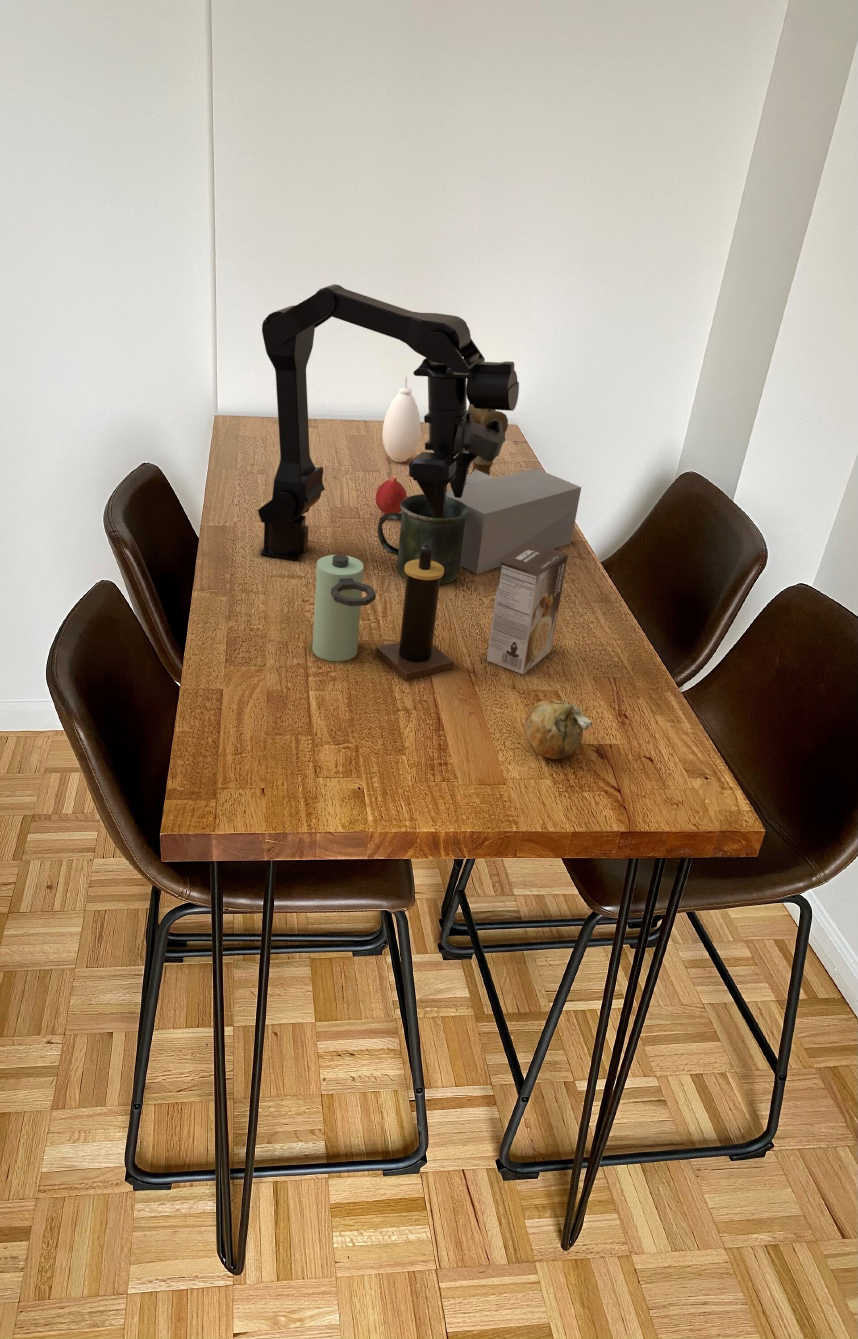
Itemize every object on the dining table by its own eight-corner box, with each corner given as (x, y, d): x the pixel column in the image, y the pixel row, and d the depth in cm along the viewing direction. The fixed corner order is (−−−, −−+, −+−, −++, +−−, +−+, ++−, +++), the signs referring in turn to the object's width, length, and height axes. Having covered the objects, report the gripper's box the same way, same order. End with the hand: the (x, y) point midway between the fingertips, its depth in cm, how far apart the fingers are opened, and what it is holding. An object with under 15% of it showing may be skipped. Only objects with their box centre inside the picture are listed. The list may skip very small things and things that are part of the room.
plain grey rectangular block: (480, 501, 207) (487, 447, 201) (571, 543, 193) (581, 487, 187) (385, 526, 191) (390, 469, 185) (476, 574, 177) (485, 513, 172)
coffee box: (514, 638, 159) (529, 540, 151) (551, 652, 156) (570, 553, 148) (484, 661, 152) (499, 560, 144) (523, 676, 149) (541, 574, 141)
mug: (460, 591, 171) (469, 522, 165) (371, 582, 170) (377, 513, 164) (461, 563, 180) (469, 497, 174) (376, 554, 180) (381, 488, 174)
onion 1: (369, 518, 193) (372, 477, 189) (381, 508, 198) (385, 468, 194) (397, 525, 192) (401, 484, 188) (410, 515, 197) (414, 474, 192)
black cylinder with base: (375, 654, 150) (385, 538, 141) (422, 643, 154) (434, 529, 145) (405, 681, 145) (418, 561, 136) (453, 668, 149) (468, 552, 140)
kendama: (486, 474, 220) (498, 379, 210) (500, 491, 212) (514, 393, 202) (458, 474, 218) (470, 378, 208) (472, 492, 210) (485, 393, 200)
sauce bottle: (416, 469, 219) (425, 383, 210) (379, 465, 218) (386, 379, 209) (417, 456, 225) (425, 373, 216) (381, 453, 225) (388, 369, 216)
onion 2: (574, 734, 137) (585, 682, 133) (584, 770, 130) (596, 716, 126) (517, 731, 137) (526, 678, 133) (524, 767, 130) (534, 713, 126)
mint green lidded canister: (307, 641, 152) (312, 549, 144) (350, 637, 154) (356, 547, 146) (329, 687, 141) (336, 591, 134) (375, 683, 143) (383, 588, 136)
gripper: (480, 425, 146) (481, 532, 153) (516, 395, 161) (515, 492, 168) (405, 420, 149) (409, 524, 156) (447, 391, 165) (449, 487, 172)
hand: (449, 506), depth 163 cm, fingers open, 9 cm apart
